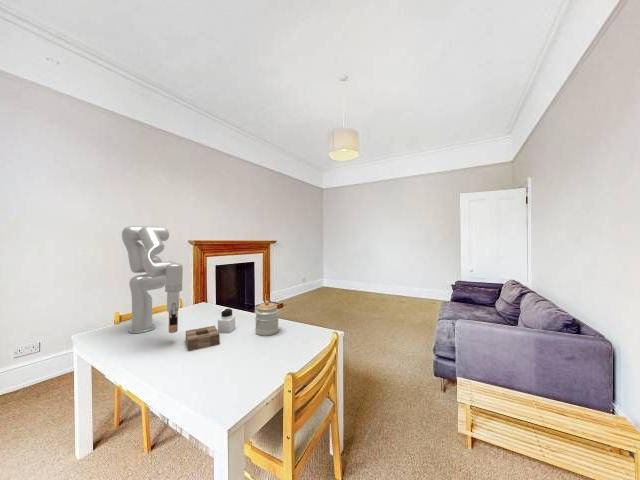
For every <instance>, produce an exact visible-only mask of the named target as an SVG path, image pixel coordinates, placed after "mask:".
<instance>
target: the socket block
mask: <svg viewBox="0 0 640 480" xmlns="http://www.w3.org/2000/svg"><path fill="white" fill-rule="evenodd" d="M220 340H221V339H220V332H218V328H217V327H216V326H215V325H211V326H206V327H205V326H204V327H200V328H193V329H188V330H185V344H186V348H187V351H188V352H191V351H194V350H195V351H196V350H200V349H203V348H208V347H213V346H217V345H220V344H221V343H220Z"/></svg>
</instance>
